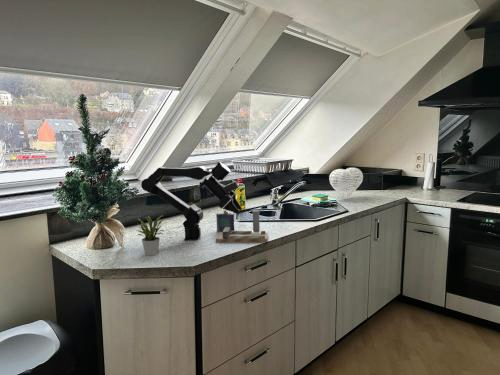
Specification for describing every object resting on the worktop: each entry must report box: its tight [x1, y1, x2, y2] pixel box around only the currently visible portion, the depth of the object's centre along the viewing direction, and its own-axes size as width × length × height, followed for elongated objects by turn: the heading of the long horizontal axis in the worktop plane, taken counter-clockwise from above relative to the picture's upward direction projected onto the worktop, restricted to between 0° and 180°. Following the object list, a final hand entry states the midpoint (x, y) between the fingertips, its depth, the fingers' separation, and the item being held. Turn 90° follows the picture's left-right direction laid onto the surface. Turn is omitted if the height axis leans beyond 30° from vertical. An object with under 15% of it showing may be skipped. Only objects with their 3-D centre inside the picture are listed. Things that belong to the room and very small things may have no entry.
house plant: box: [136, 214, 166, 256], centre depth 158 cm, size 14×14×16 cm
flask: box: [216, 209, 235, 233], centre depth 191 cm, size 9×3×11 cm, turn 72°
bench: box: [215, 227, 269, 243], centre depth 177 cm, size 23×11×4 cm, turn 86°
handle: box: [251, 209, 262, 235], centre depth 176 cm, size 4×7×11 cm, turn 176°
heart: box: [329, 167, 364, 200], centre depth 272 cm, size 28×16×22 cm, turn 129°
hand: (240, 211), depth 176 cm, fingers open, 9 cm apart
